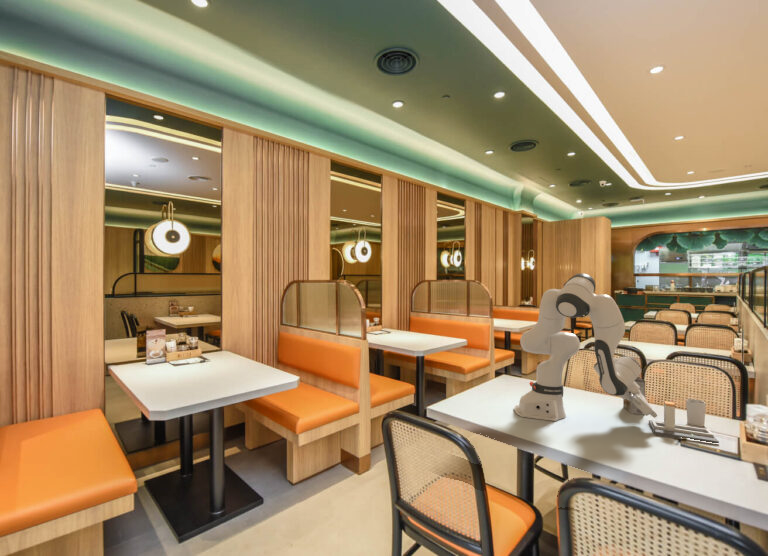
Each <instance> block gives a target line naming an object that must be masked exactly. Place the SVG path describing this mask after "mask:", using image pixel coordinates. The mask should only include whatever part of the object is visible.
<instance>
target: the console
mask: <svg viewBox="0 0 768 556" xmlns="http://www.w3.org/2000/svg"><path fill="white" fill-rule="evenodd" d="M648 426H649V427H650V429H651V430H652V432H653V433H654V435H655V436H657V437H658V436H659V437H665V438H668V439H669V438H670V439H676V438H679V437H682V438H690V439H694V440H700V441H706V442H712V443H720V441H719V440H718V439H717V438H716V437H715V435H714V434H713V432H712V431H711V430H710V429H709V428H707V427H706V428H705V427H701V426H694V425H692V426H691V425H685V424H680V423H679V424H678V423H675V428H670V427H664V421H658V420H652V419H651V420H648Z"/></svg>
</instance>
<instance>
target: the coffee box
mask: <svg viewBox="0 0 768 556" xmlns="http://www.w3.org/2000/svg"><path fill="white" fill-rule="evenodd" d="M635 382H636V383H637V384H638V385H639V386H640V388H639V390H640V391H641V393H642V395H643V396H644V397H645V398H646V380H644V379H643V378H641V377H640V376H638V377H637V378H636V379H635ZM622 400H623V404H622V405H623V406H622V407H623V408H624V409H625V410H626V411H628V412H629V413H630V414H633V415H634V414H635V415H644V414H643V413H642V412H641V411H640V410H639V409H638V408H637V407H636V406H635V405H634V404H633V402H632V401H631V400H628V399H622Z"/></svg>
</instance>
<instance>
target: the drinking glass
mask: <svg viewBox="0 0 768 556" xmlns="http://www.w3.org/2000/svg"><path fill="white" fill-rule="evenodd" d="M685 401H686V402H685V403H686V405H685V406H686V420H687V424H689V425H690V426H691V425H692V426H694V427H705V421H706V408H707V407H706V405H707V404H706V402H705V401H703V400H701V399H695V398H686V400H685Z"/></svg>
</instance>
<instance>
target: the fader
mask: <svg viewBox="0 0 768 556" xmlns="http://www.w3.org/2000/svg"><path fill="white" fill-rule="evenodd" d="M663 422H664V427H670V428H675V424H676V403H674V402H673V401H666V400H664V401H663Z"/></svg>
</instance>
